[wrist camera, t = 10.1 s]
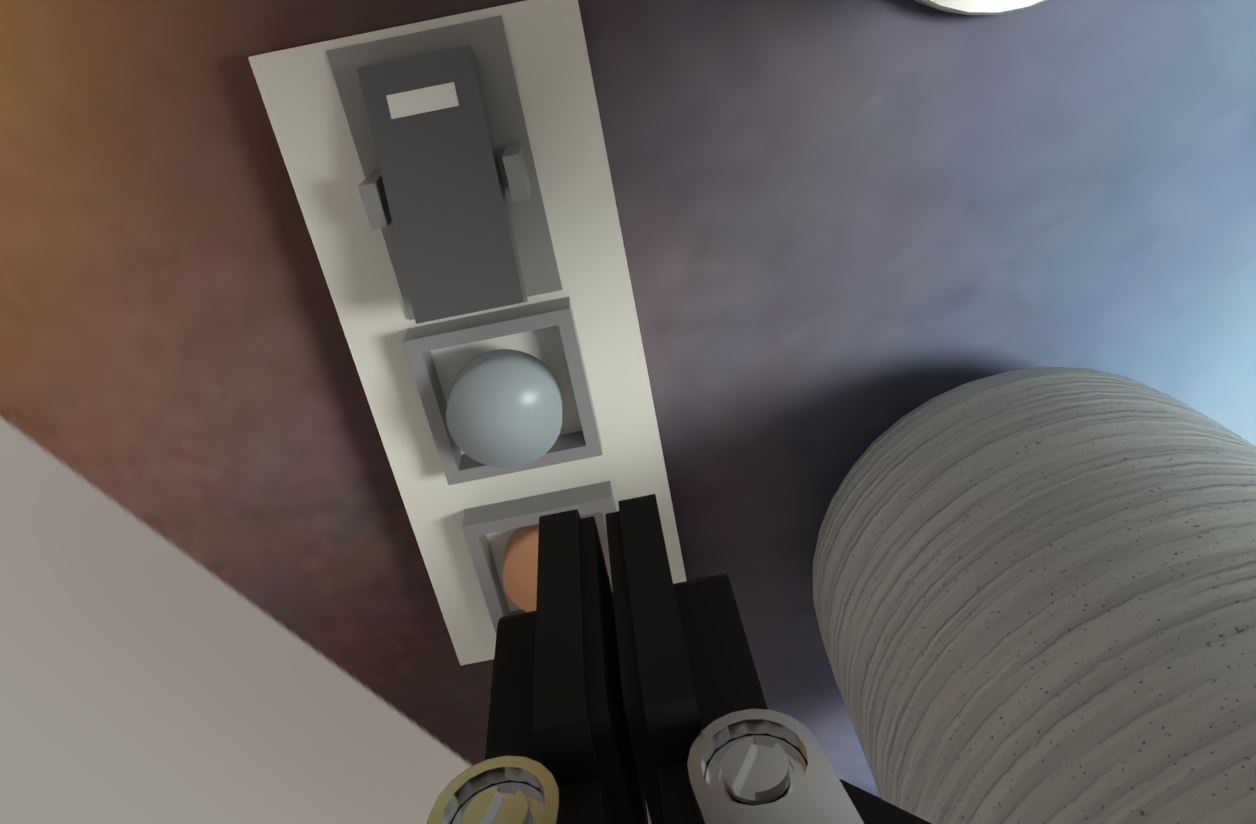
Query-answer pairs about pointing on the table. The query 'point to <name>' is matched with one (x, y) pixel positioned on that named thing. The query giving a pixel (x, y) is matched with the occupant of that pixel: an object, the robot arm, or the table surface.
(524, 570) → the orange button
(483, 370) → the grey button
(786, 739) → the robot arm
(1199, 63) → the table surface
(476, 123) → the block
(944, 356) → the table surface
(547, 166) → the panel
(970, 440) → the vase
